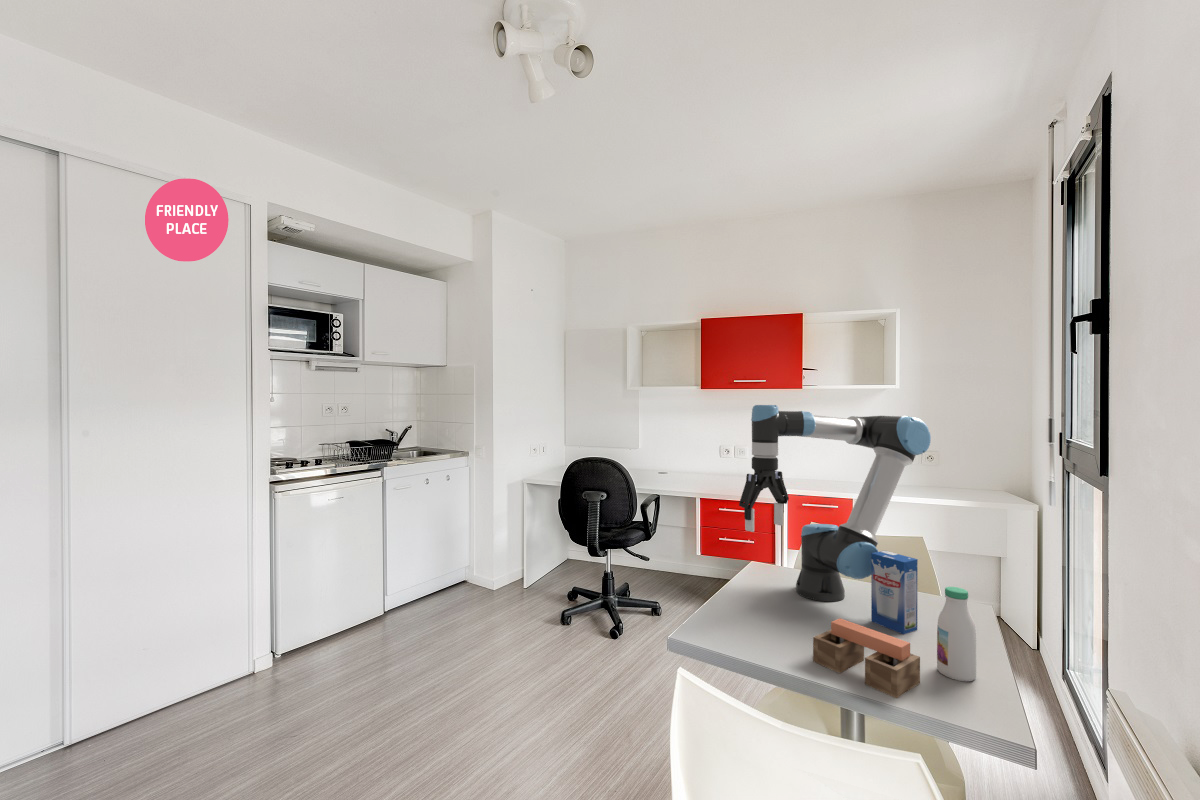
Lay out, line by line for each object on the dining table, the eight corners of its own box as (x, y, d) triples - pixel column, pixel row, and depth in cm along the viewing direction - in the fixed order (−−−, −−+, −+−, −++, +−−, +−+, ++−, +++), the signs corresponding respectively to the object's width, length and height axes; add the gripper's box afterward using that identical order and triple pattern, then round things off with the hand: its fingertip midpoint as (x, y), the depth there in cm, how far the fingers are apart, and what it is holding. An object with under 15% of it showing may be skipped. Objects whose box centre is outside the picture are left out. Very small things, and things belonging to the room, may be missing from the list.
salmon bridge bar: (831, 650, 133) (831, 621, 133) (839, 646, 136) (839, 618, 136) (901, 679, 120) (901, 647, 120) (910, 674, 122) (910, 642, 122)
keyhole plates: (837, 649, 138) (837, 626, 138) (919, 683, 121) (920, 656, 121) (813, 661, 131) (813, 637, 131) (896, 698, 115) (896, 670, 115)
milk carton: (871, 621, 156) (871, 553, 156) (884, 617, 159) (884, 550, 159) (904, 634, 147) (904, 562, 147) (917, 630, 150) (917, 559, 150)
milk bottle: (978, 673, 126) (978, 588, 126) (973, 686, 120) (973, 597, 120) (940, 662, 131) (940, 581, 131) (934, 674, 125) (934, 589, 125)
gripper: (779, 453, 169) (779, 520, 169) (726, 457, 154) (726, 530, 154) (800, 455, 163) (800, 524, 162) (747, 460, 148) (747, 536, 148)
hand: (764, 527), depth 158 cm, fingers open, 13 cm apart
